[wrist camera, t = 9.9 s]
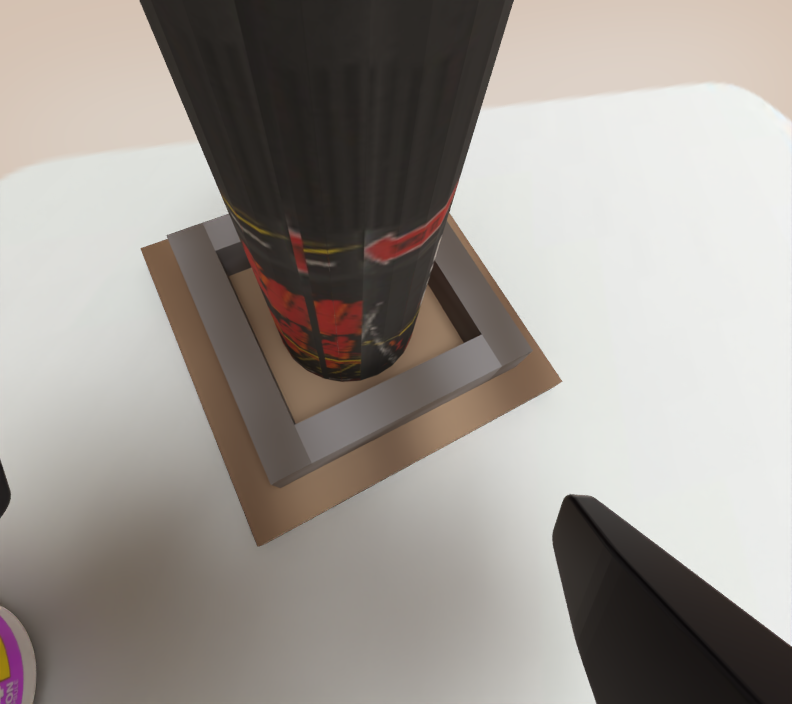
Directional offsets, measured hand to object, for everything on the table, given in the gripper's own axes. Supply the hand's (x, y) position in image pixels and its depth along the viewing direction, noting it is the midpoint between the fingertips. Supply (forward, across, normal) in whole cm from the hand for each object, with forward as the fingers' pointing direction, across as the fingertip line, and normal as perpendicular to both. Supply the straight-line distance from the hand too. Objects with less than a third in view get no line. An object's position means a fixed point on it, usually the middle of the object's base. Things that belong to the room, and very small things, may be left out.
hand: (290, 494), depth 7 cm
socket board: (+14, 0, +2) cm, 14 cm away
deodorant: (+13, 0, +2) cm, 13 cm away
